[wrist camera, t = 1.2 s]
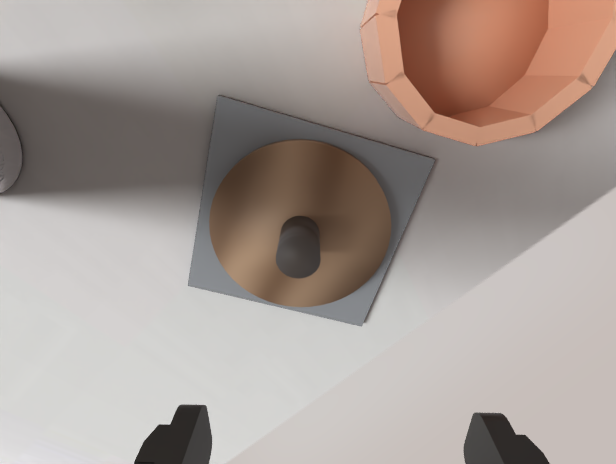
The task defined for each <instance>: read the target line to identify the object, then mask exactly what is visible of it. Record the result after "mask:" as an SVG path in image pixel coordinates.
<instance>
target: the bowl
mask: <svg viewBox="0 0 616 464" xmlns="http://www.w3.org/2000/svg"><path fill="white" fill-rule="evenodd" d="M360 28H361V29H360V34H361V40H362V46H363V52H364V58H365V64H366V70H367V76H368V81H370V82H369V83H370V84H371V85H372V86H373V88H374V89H375V90H376V91H377V93H378V94H379V95H380V96H381V97H382V99H383V100H384V101H385V102H386V103H387V105H388V106H389V107H390V108H391V109H392V111H393V112H394V113H395V114H396V116H397V117H399V118H401V119H403V120H405V121H406V122H408V123H410V124H412V125H414V126H416V127H418V128H420V129H422V130H423V131H427V132H430V133H433V134H436V135H440V136H443V137H446V138H450V139H453V140H456V141H460V142H463V143H466V144H469V145H473V146H480V145H484V144H489V143H493V142H497V141H501V140H505V139H509V138H513V137H518V136H522V135H526V134H530V133H534V132H535V131H538V130H540V129H541V128H542V127H543V126H545V125H546V124H547V123H548V122H550V121H551V120H552V119H554V118H555V117H556V116H557V115H559V114H560V113H561V112H563V111H564V110H565V109H566V108H568V107H569V106H570V105H571V104H573V103H574V102H575V101H577V100H578V99H579V98H580V97H582V96H583V95H584V94H586V93H587V92H588V91H589V90H591V89H592V87H591V86H594V85H595V84H596V82H597V80H598V79H599V77H600V75H601V73H602V72H603V70H604V68H605V67H606V65H607V63H608V61H609V60H610V58H611V56H612V55H613V53H614V51H615V50H616V0H368V2H367V5H366V9H365V12H364V16H363V19H362V22H361V26H360Z"/></svg>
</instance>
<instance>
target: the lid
mask: <svg viewBox="0 0 616 464" xmlns="http://www.w3.org/2000/svg"><path fill="white" fill-rule="evenodd" d="M209 229H210V237H211V242H212V245H213V248H214V251H215V254H216V256H217V258H218V260H219V262H220V263H221V265H222V266H223V268H224V269H225V271H226V272H227V273H228V274H229V275H230V277H231V278H232V279H233V280H234V281H235V282H236V283H238V284H239V285H240V286H241V287H242V288H244V289H245V290H247V291H248V292H249V293H251V294H253V295H255V296H257V297H259V298H261V299H263V300H266V301H268V302H272V303H275V304H278V305H284V306H290V307H313V306H320V305H324V304H328V303H332V302H334V301H337V300H340V299H342V298H344V297H346V296H348V295H350V294H351V293H353V292H354V291H356V290H357V289H359V288H360V287H361V286H363V285H364V284H365V283H366V282H367V281H368V280H369V279H370V278H371V277H372V276H373V275H374V273H375V272H376V270H377V269H378V268H379V266H380V265H381V263H382V261H383V259H384V257H385V255H386V252H387V249H388V246H389V241H390V236H391V215H390V210H389V206H388V202H387V199H386V197H385V194H384V192H383V190H382V188H381V187H380V185H379V183H378V182H377V180H376V178H375V177H374V175H373V174H372V173H371V172H370V170H369V169H368V168H367V167H366V166H365V165H364V164H363V163H362V162H361V161H360V160H358V159H357V158H356V157H354V156H353V155H351V154H350V153H348V152H346V151H345V150H343V149H341V148H339V147H336V146H334V145H331V144H328V143H325V142H320V141H316V140H307V139H291V140H283V141H278V142H274V143H271V144H268V145H265V146H262V147H260V148H258V149H256V150H254V151H252V152H251V153H249V154H248V155H247V156H245V157H244V158H242V159H241V160H240V161H239V162H238V163H237V164H236V165H235V166H234V167H233V168H232V169H231V170H230V171H229V173H228V174H227V175H226V176H225V178H224V179H223V180H222V182H221V184H220V185H219V187H218V189H217V191H216V193H215V196H214V198H213V201H212V205H211V209H210V217H209Z"/></svg>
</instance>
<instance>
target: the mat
mask: <svg viewBox="0 0 616 464" xmlns="http://www.w3.org/2000/svg"><path fill="white" fill-rule="evenodd" d="M291 139H307V140H316V141H320V142H325V143H328V144H331V145H334V146H336V147H339V148H341V149H343V150H345V151H346V152H348V153H350V154H351V155H353V156H354V157H356V158H357V159H358V160H360V161H361V162H362V163H363V164H364V165H365V166H366V167H367V168H368V169H369V170H370V172H371V173H372V174H373V175H374V177H375V178H376V180H377V182H378V183H379V185H380V187H381V188H382V190H383V192H384V194H385V197H386V199H387V202H388V206H389V210H390V215H391V236H390V241H389V246H388V249H387V252H386V255H385V257H384V259H383V261H382V263H381V265H380V266H379V268H378V269H377V270H376V272H375V273H374V275H373V276H372V277H371V278H370V279H369V280H368V281H367V282H366V283H365V284H364V285H363V286H361V287H360V288H359V289H357V290H356V291H354V292H353V293H351V294H350V295H348V296H346V297H344V298H342V299H340V300H337V301H334V302H332V303H328V304H324V305H320V306H313V307H290V306H284V305H278V304H275V303H272V302H268V301H266V300H263V299H261V298H259V297H257V296H255V295H253V294H251V293H249V292H248V291H247V290H245V289H244V288H242V287H241V286H240V285H239V284H238V283H236V282H235V281H234V280H233V279H232V278H231V277H230V275H229V274H228V273H227V272H226V271H225V269H224V268H223V266H222V265H221V263H220V262H219V260H218V258H217V256H216V254H215V251H214V248H213V245H212V242H211V237H210V229H209V217H210V209H211V205H212V201H213V198H214V196H215V193H216V191H217V189H218V187H219V185H220V184H221V182H222V180H223V179H224V178H225V176H226V175H227V174H228V173H229V171H230V170H231V169H232V168H233V167H234V166H235V165H236V164H237V163H238V162H239V161H240V160H241V159H242V158H244V157H245V156H247V155H248V154H249V153H251V152H252V151H254V150H256V149H258V148H260V147H262V146H265V145H268V144H271V143H274V142H278V141H283V140H291ZM434 162H435V159H434V158H431V157H427V156H424V155H420V154H417V153H414V152H410V151H407V150H404V149H400V148H397V147H393V146H390V145H387V144H383V143H380V142H376V141H373V140H370V139H366V138H363V137H359V136H356V135H353V134H349V133H346V132H343V131H339V130H336V129H332V128H329V127H326V126H322V125H319V124H315V123H312V122H309V121H305V120H302V119H298V118H295V117H292V116H288V115H285V114H282V113H278V112H275V111H271V110H268V109H265V108H261V107H258V106H254V105H251V104H248V103H244V102H241V101H238V100H234V99H231V98H227V97H224V96H221V95H218V97H217V103H216V109H215V116H214V122H213V128H212V135H211V141H210V147H209V154H208V160H207V166H206V173H205V179H204V185H203V192H202V198H201V204H200V211H199V217H198V223H197V230H196V236H195V242H194V249H193V255H192V262H191V268H190V274H189V281H188V286H191V287H195V288H200V289H204V290H208V291H212V292H217V293H221V294H225V295H229V296H234V297H238V298H242V299H247V300H251V301H255V302H259V303H264V304H268V305H272V306H276V307H281V308H285V309H289V310H293V311H298V312H302V313H306V314H311V315H315V316H319V317H323V318H328V319H332V320H336V321H340V322H345V323H349V324H353V325H358V326H362V325H363V322H364V320H365V318H366V315H367V313H368V311H369V309H370V306H371V304H372V302H373V300H374V297H375V295H376V293H377V291H378V288H379V286H380V284H381V282H382V279H383V277H384V275H385V273H386V270H387V268H388V266H389V263H390V261H391V259H392V257H393V254H394V252H395V250H396V248H397V245H398V243H399V241H400V239H401V236H402V234H403V232H404V230H405V227H406V225H407V223H408V221H409V218H410V216H411V214H412V211H413V209H414V207H415V205H416V202H417V200H418V198H419V196H420V193H421V191H422V189H423V187H424V184H425V182H426V180H427V178H428V175H429V173H430V171H431V169H432V166H433V164H434Z"/></svg>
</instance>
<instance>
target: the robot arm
mask: <svg viewBox="0 0 616 464" xmlns="http://www.w3.org/2000/svg"><path fill="white" fill-rule="evenodd" d="M21 167H22V150H21V145H20V140H19V138H18V135H17V133H16V130H15V127H14V126H13V124H12V122H11V121H10V119H9V117H8V116H7V114H6V113H5V111H4V110H3V109H2V108H1V107H0V193H1V192H4V191H6V190H7V189H8V188H9V187H11V186H12V185H13V184H14V182H15V181H16V179H17V178H18V176H19V173H20V170H21ZM211 449H212V435H211V429H210V423H209V417H208V412H207V407H206V405H180V406H179V407H178V408H177V410H176V412H175V415H174V417H173V420H172V422H171V424H170V425H158V426H157V427H156V429H155V430H154V431H153V432H152V433H151V434H150V435H149V436H148V438H147V439H146V440H145V441H144V442H143V445H142V447H141V449H140V451H139V453H138V455H137V457H136V459H135V462H134V464H209V460H210V455H211ZM464 458H465V463H466V464H549V462H548V460H547V459H546V457H545V455H544V454H543V452H541V450H540V449H539V448H538V447H537V446H535V445H534V443H533V442H532V441H531V440H530V439H529V438H528V437H527V436H526V435H516V434H515V432H514V430H513V428H512V427H511V425H510V423H509V421H508V420H507V418H506V417H505V416H504V415H503V414H501V413H474V414H473V416H472V419H471V423H470V426H469V430H468V433H467V436H466V440H465V444H464Z"/></svg>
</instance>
